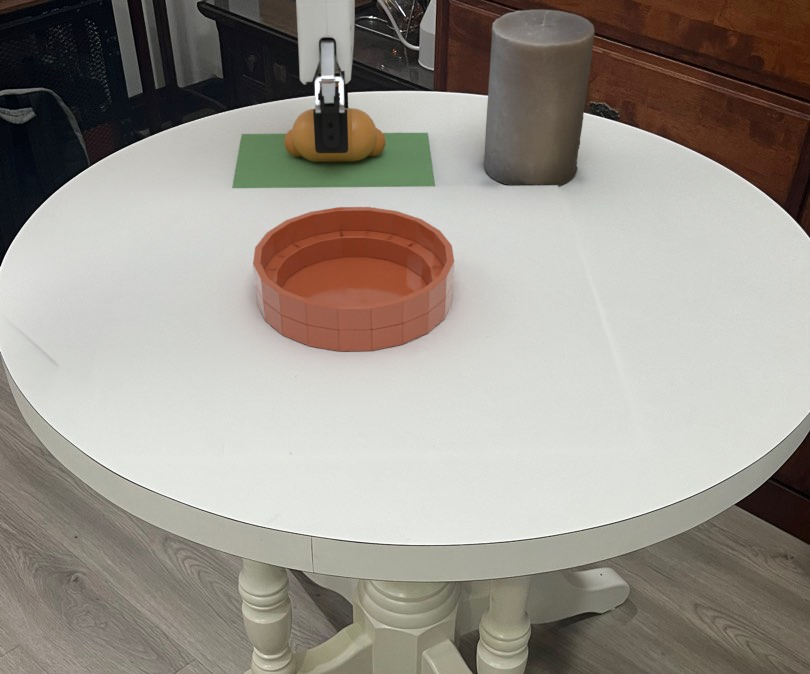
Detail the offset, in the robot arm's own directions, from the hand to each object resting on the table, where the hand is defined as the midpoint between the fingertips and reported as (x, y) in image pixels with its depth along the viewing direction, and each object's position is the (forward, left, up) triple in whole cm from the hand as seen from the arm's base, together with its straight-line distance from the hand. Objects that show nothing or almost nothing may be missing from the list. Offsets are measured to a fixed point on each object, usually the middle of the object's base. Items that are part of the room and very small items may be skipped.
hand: (332, 130), depth 100 cm
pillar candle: (+20, -1, -4) cm, 20 cm away
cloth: (0, 0, -3) cm, 3 cm away
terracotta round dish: (+2, -26, -3) cm, 27 cm away
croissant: (0, 0, -3) cm, 3 cm away
